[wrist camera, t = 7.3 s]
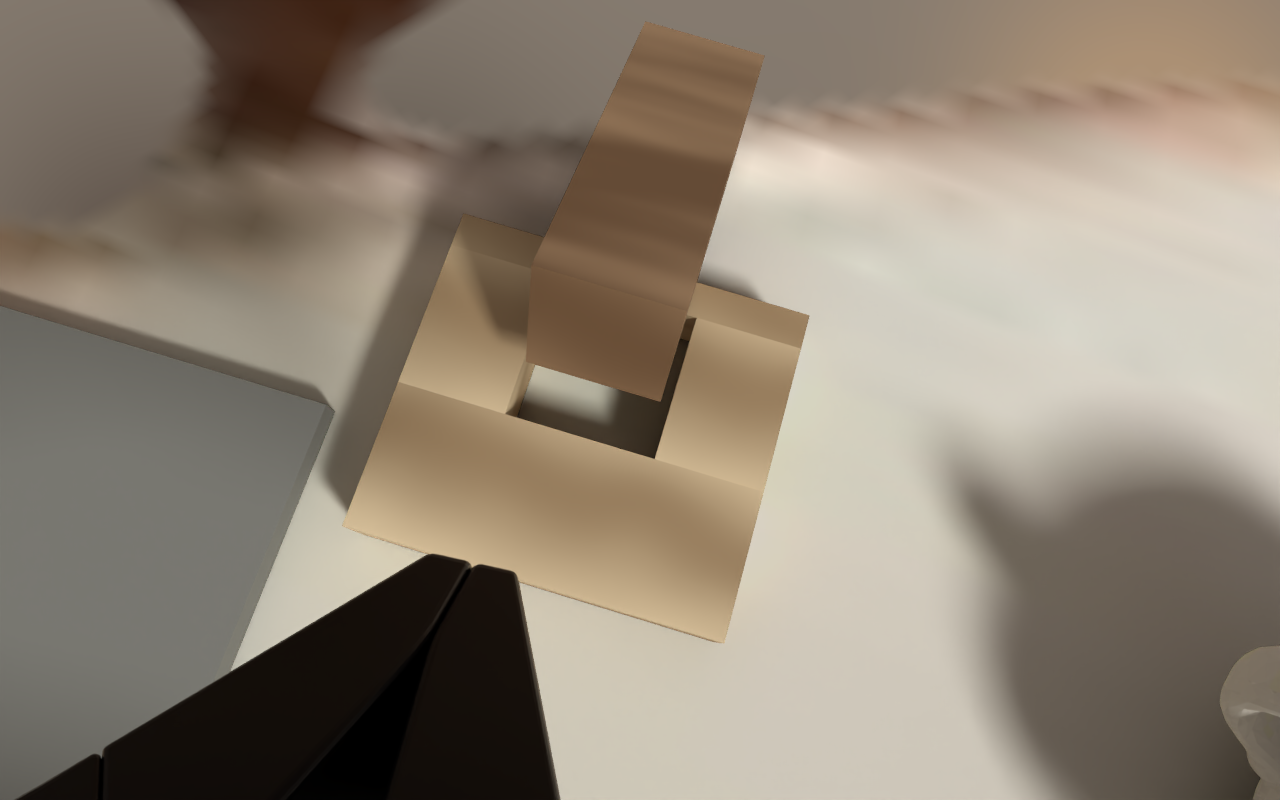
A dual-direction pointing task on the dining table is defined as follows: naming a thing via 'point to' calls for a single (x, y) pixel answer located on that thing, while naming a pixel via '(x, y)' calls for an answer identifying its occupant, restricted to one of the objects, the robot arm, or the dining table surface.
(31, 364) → the grey mat
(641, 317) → the walnut block
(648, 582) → the oak holder
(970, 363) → the dining table surface
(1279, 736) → the teacup
